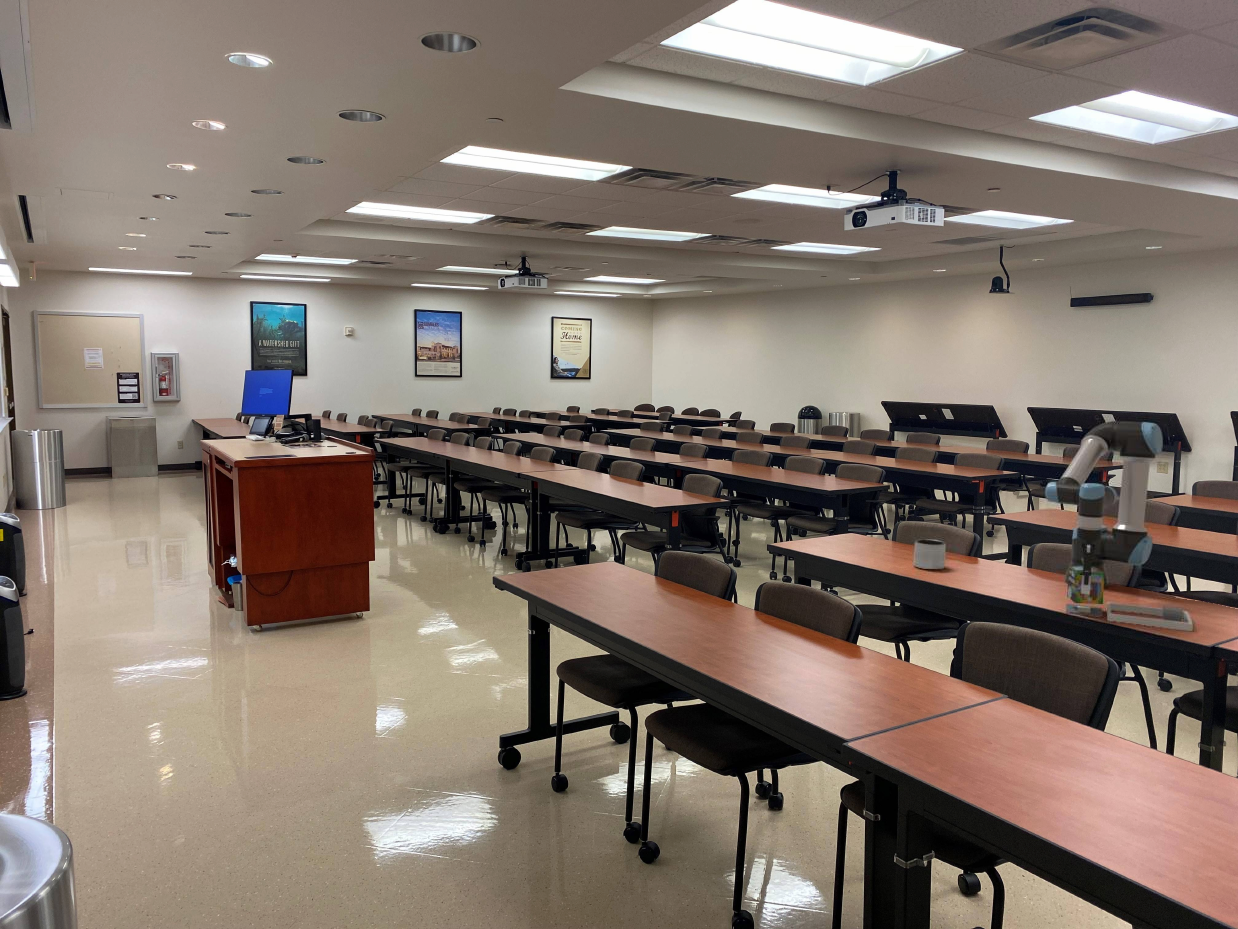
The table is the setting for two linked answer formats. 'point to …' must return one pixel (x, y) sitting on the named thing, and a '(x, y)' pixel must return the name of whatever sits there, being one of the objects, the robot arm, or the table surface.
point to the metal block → (1172, 613)
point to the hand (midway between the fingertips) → (1085, 589)
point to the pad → (1084, 610)
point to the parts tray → (1146, 621)
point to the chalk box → (1076, 582)
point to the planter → (929, 554)
